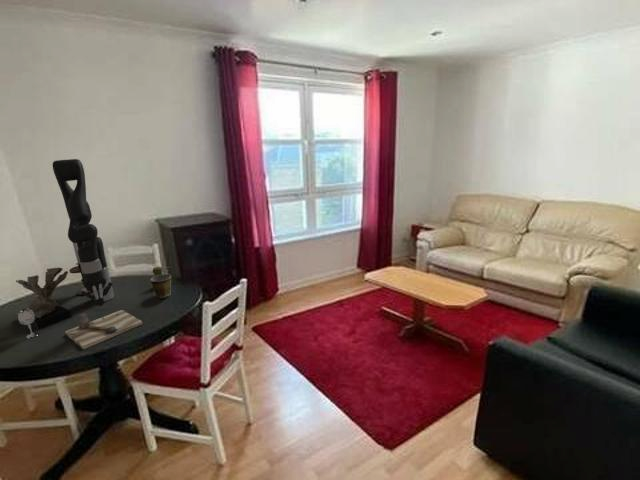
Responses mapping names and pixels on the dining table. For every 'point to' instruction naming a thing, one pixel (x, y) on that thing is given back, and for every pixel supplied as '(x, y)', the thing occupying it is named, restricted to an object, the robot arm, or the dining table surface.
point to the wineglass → (27, 319)
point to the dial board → (93, 336)
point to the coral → (46, 299)
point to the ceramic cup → (162, 285)
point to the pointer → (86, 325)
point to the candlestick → (78, 268)
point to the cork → (157, 271)
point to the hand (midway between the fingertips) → (100, 305)
